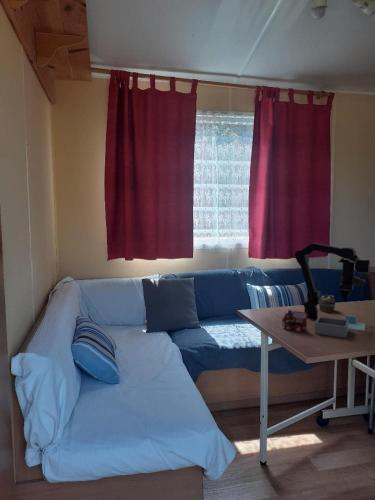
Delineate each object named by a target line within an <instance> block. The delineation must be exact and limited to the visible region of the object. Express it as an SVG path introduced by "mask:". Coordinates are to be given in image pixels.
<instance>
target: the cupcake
mask: <svg viewBox="0 0 375 500" xmlns="http://www.w3.org/2000/svg"><path fill="white" fill-rule="evenodd" d="M321 296H322V298H321V302H320V303H319V304H318V306H319V311H321V312H324V313H333V312H334V311H335V306H336V299H335V298H334V297H335V296H334V295H332V294H328V293H326V294H322V295H321Z"/></svg>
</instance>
